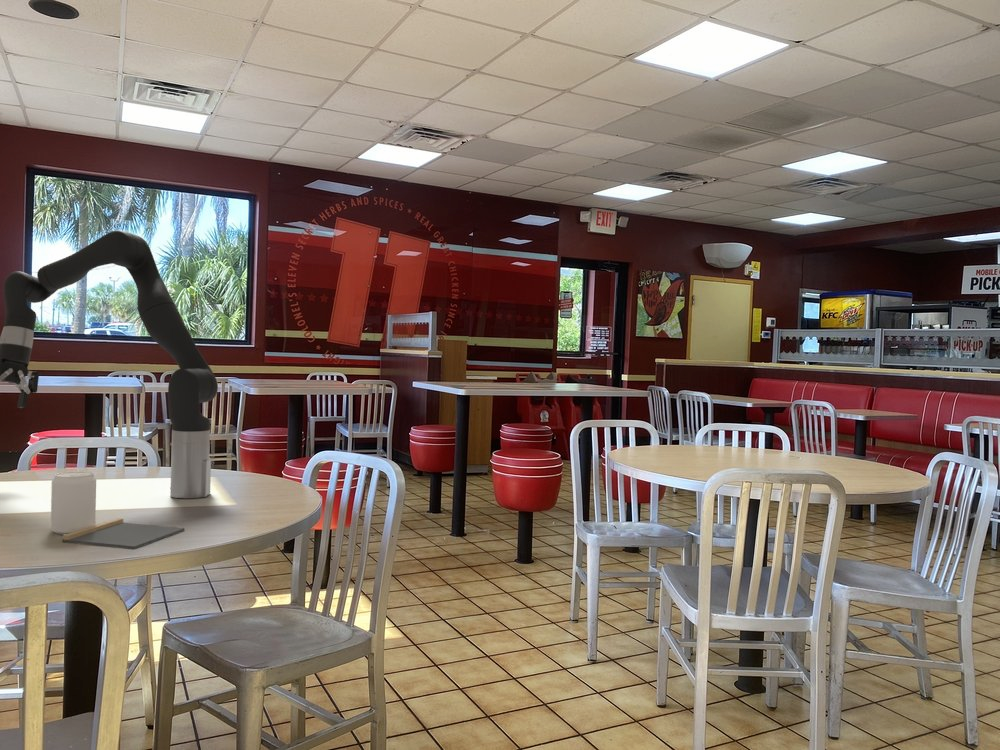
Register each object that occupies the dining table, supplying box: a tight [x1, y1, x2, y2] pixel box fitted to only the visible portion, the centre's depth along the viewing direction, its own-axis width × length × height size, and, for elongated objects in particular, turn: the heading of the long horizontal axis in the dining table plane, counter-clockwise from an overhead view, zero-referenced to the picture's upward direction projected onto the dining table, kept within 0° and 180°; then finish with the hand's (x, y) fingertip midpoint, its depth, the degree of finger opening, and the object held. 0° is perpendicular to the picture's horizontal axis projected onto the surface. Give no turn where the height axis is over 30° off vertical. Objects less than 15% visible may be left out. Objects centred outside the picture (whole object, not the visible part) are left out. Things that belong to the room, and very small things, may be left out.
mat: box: [62, 517, 186, 550], centre depth 157 cm, size 16×16×1 cm
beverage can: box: [50, 470, 97, 535], centre depth 159 cm, size 8×8×12 cm
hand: (4, 404), depth 202 cm, fingers open, 8 cm apart
